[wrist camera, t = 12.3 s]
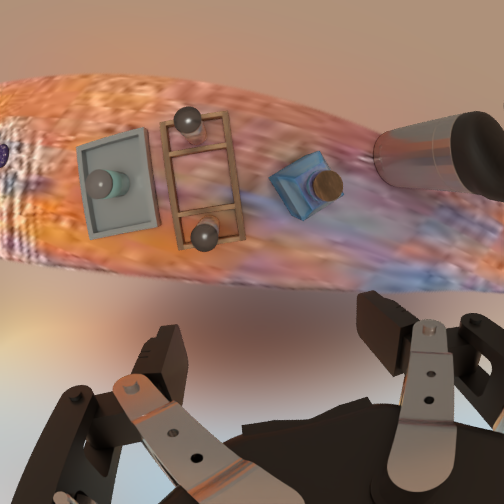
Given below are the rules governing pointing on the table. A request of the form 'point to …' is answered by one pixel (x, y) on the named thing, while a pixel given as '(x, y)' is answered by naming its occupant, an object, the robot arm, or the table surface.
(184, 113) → the glass vial
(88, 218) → the dish
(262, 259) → the table surface
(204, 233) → the canister
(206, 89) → the table surface
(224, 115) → the rack
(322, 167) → the perfume bottle
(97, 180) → the cylinder
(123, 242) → the table surface
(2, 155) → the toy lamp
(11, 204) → the table surface
